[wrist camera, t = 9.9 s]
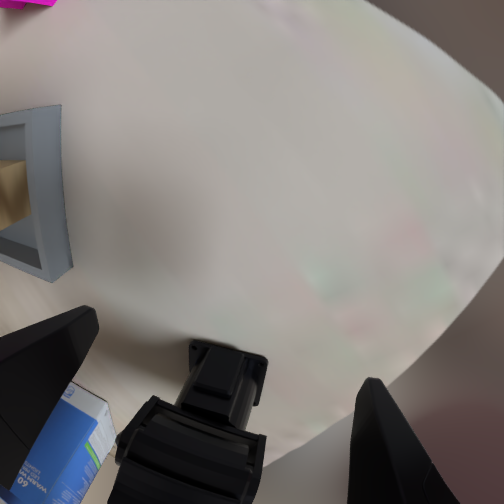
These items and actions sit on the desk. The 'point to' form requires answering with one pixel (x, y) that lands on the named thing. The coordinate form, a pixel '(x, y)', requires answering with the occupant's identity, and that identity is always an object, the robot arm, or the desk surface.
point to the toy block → (23, 3)
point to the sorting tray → (37, 194)
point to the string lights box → (65, 452)
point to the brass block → (13, 192)
